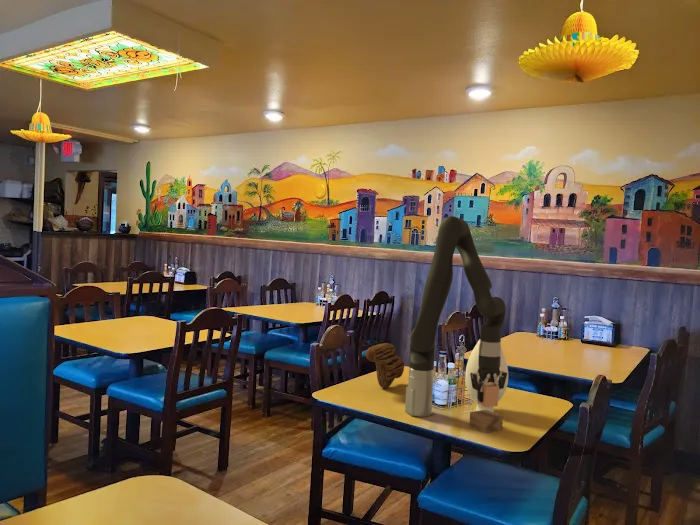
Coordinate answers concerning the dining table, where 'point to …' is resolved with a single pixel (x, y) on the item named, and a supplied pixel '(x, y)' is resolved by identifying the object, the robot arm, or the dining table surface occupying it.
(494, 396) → the light wooden cube
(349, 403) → the dining table surface
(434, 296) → the robot arm
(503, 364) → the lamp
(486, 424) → the walnut block
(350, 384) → the dining table surface
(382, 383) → the sculpture
